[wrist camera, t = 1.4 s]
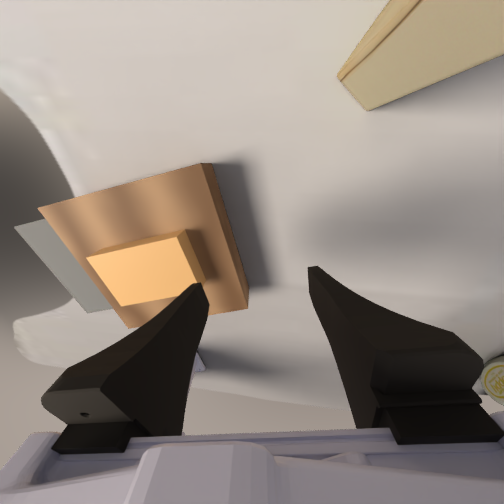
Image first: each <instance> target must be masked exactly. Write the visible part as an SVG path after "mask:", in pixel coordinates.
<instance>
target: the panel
mask: <svg viewBox="0 0 504 504" xmlns="http://www.w3.org/2000/svg"><path fill="white" fill-rule="evenodd" d="M38 209H39V211H40V212H41V213H42V215H43V216H44V217H45V219H46V220H47V221H48V223H49V224H50V225H51V227H52V228H53V229H54V231H55V232H56V233H57V235H58V236H59V237H60V239H61V240H62V241H63V243H64V244H65V245H66V247H67V248H68V249H69V250H70V252H71V253H72V254H73V256H74V257H75V258H76V260H77V261H78V262H79V264H80V265H81V266H82V268H83V269H84V270H85V272H86V273H87V274H88V276H89V277H90V278H91V280H92V281H93V282H94V284H95V285H96V286H97V288H98V289H99V290H100V292H101V293H102V294H103V295H104V297H105V298H106V299H107V301H108V302H109V303H110V305H111V306H112V307H113V309H114V310H115V311H116V313H117V314H118V315H119V317H120V318H121V319H122V321H123V322H124V323H125V325H126V326H127V327H128V329H129V328H135V327H141V326H143V325H144V324H145V323H147V322H148V321H149V320H151V319H152V318H153V317H155V316H156V315H157V314H158V313H159V312H161V311H162V310H163V309H164V308H165V307H166V306H168V305H169V304H170V303H171V302H172V301H173V300H174V299H175V298H177V297H178V296H175V297H170V298H165V299H159V300H154V301H148V302H143V303H138V304H132V305H127V306H121V305H120V304H119V303H118V301H117V300H116V299H115V297H114V296H113V294H112V293H111V292H110V290H109V289H108V288H107V286H106V285H105V283H104V282H103V281H102V279H101V278H100V277H99V275H98V274H97V272H96V271H95V270H94V268H93V267H92V266H91V264H90V263H89V261H88V260H87V259H86V257H88V256H90V255H92V254H93V253H95V252H97V251H99V250H101V249H102V248H107V247H111V246H115V245H120V244H124V243H128V242H132V241H137V240H141V239H145V238H150V237H154V236H158V235H163V234H167V233H171V232H176V231H180V230H184V229H185V231H186V233H187V236H188V238H189V241H190V243H191V245H192V248H193V250H194V252H195V255H196V257H197V260H198V262H199V264H200V267H201V269H202V272H203V274H204V276H205V279H206V282H205V284H204V286H203V289H204V291H205V294H206V296H207V299H208V301H209V304H210V306H209V312H208V315H213V314H219V313H225V312H231V311H237V310H243V309H248V299H249V286H248V283H247V279H246V276H245V273H244V269H243V266H242V263H241V259H240V256H239V253H238V249H237V246H236V243H235V240H234V236H233V233H232V230H231V226H230V223H229V220H228V216H227V213H226V210H225V206H224V203H223V200H222V196H221V193H220V190H219V186H218V183H217V180H216V177H215V173H214V170H213V167H212V163H200V164H196V165H192V166H189V167H185V168H181V169H178V170H174V171H171V172H167V173H163V174H160V175H156V176H152V177H149V178H145V179H141V180H138V181H134V182H131V183H127V184H123V185H120V186H116V187H112V188H109V189H105V190H102V191H98V192H94V193H91V194H87V195H83V196H80V197H76V198H72V199H69V200H65V201H62V202H58V203H54V204H51V205H47V206H43V207H40V208H38Z"/></svg>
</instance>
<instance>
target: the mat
mask: <svg viewBox="0 0 504 504" xmlns="http://www.w3.org/2000/svg"><path fill="white" fill-rule="evenodd" d="M14 228H15V229H16V230H17V231H18V233H19V234H20V235H21V236H22V237H23V239H24V240H25V241H26V242H27V243H28V244H29V246H30V247H31V248H32V249H33V250H34V251H35V253H36V254H37V255H38V256H39V257H40V258H41V260H42V261H43V262H44V263H45V264H46V265H47V267H48V268H49V269H50V270H51V271H52V273H53V274H54V275H55V276H56V277H57V278H58V280H59V281H60V282H61V283H62V284H63V285H64V287H65V288H66V289H67V290H68V291H69V292H70V294H71V295H72V296H73V297H74V298H75V300H76V301H77V302H78V303H79V304H80V305H81V307H82V308H83V309H84V310H85V311H86V312H87V313H92V312H97V311H103V310H108V309H113V307H112V306H111V305H110V303H109V302H108V301H107V299H106V298H105V297H104V295H103V294H102V293H101V292H100V290H99V289H98V288H97V286H96V285H95V284H94V282H93V281H92V280H91V278H90V277H89V276H88V274H87V273H86V272H85V270H84V269H83V268H82V266H81V265H80V264H79V262H78V261H77V260H76V258H75V257H74V256H73V254H72V253H71V252H70V250H69V249H68V248H67V247H66V245H65V244H64V243H63V241H62V240H61V239H60V237H59V236H58V235H57V233H56V232H55V231H54V229H53V228H52V227H51V225H50V224H49V223H48V221H47V220H46V219H42V220H38V221H35V222H31V223H27V224H23V225H20V226H16V227H14Z"/></svg>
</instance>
